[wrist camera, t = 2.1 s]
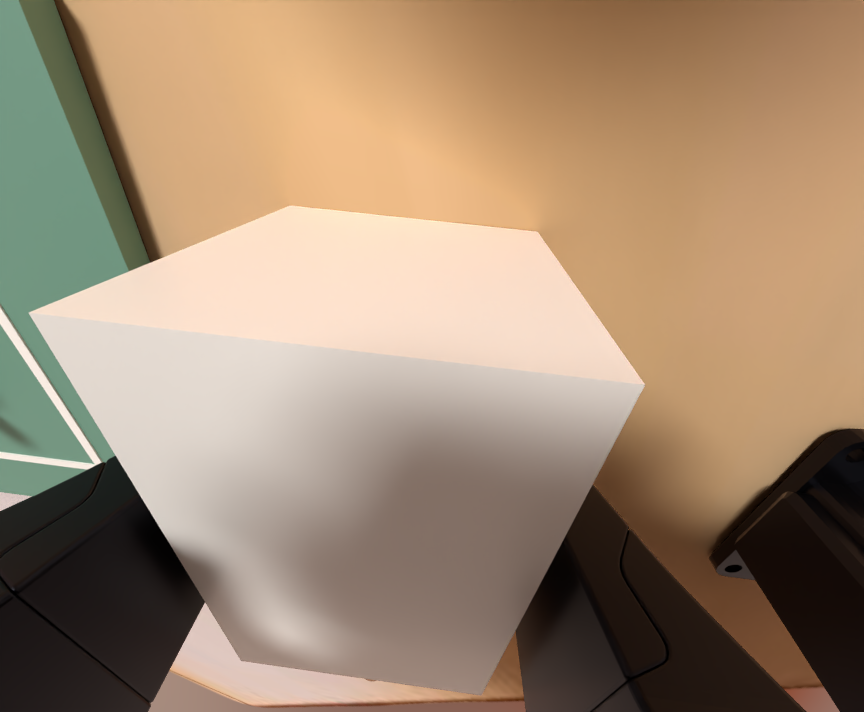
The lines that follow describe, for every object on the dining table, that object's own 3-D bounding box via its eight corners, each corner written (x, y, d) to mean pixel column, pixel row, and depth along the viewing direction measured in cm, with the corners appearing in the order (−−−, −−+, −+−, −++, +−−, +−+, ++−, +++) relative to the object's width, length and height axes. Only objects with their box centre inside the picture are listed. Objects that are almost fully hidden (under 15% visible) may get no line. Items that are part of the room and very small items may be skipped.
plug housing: (537, 231, 7) (644, 384, 3) (462, 544, 13) (459, 736, 9) (290, 205, 7) (27, 313, 3) (332, 527, 13) (270, 707, 9)
